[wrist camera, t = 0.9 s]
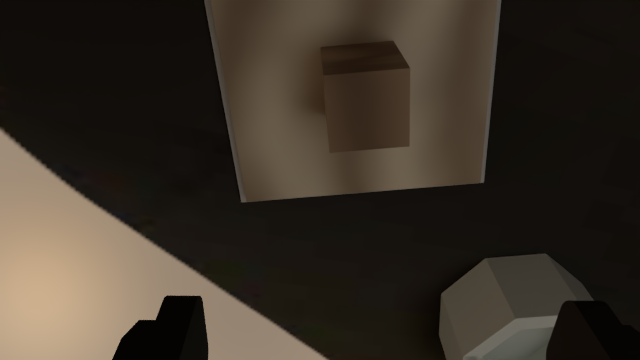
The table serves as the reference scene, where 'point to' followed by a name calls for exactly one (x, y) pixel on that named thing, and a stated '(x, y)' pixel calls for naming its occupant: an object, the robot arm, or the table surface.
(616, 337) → the robot arm
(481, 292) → the bowl
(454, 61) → the lid
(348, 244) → the table surface
